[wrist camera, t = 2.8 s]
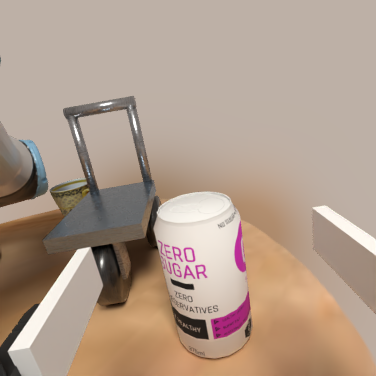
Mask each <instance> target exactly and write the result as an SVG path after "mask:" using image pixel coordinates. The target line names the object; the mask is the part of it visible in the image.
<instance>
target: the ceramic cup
mask: <svg viewBox="0 0 376 376" xmlns="http://www.w3.org/2000/svg"><path fill="white" fill-rule="evenodd" d="M89 192H90V191H89V188H88V185H87V182H86V178H80V179H75V180H71V181H67V182H64V183H61V184H59V185H56V186H55V187H53V188H51V189H50V193H51V195H52V197H53V199H54V200H55V202H56V204H57V205H58V207H59V208H60V210H61V212H62V214H63V215H64V217H65V216H66V215H67V214H68V213H69V212H70V211H71V210H72V209H73V208H74V207H75V206H76V205H77V204H78V203H79V202H80V201H81V200H82V199H83V198H84V197H85V196H86V195H87V194H88V193H89Z"/></svg>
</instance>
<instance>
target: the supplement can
mask: <svg viewBox="0 0 376 376" xmlns="http://www.w3.org/2000/svg"><path fill="white" fill-rule="evenodd" d="M154 233H155V237H156V241H157V245H158V250H159V254H160V258H161V263H162V267H163V271H164V275H165V280H166V284H167V288H168V292H169V297H170V301H171V305H172V310H173V314H174V318H175V322H176V327H177V331H178V334H179V338H180V341H181V343H182V344H183V345H184V346H185V347H186V348H187V350H188V351H190V352H192V353H194V354H196V355H198V356H200V357H206V358H214V359H215V358H220V357H224V356H229V355H231V354H233V353H234V352H236V351H238V350H239V349H241V348H242V347H243V346H244V344H245V343H246V342H247V340H248V339H249V338H250V334H251V330H252V318H251V309H250V300H249V291H248V282H247V274H246V265H245V256H244V247H243V238H242V229H241V221H240V215H239V212H238V210H237V209H236V208H235V206H234V205H233V204H232V202H231V199H230V198H229V197H228V196H227V195H225V194H221V193H218V192H195V193H190V194H185V195H181V196H178V197H175V198H173V199H171V200H169V201H167V202H165V203H164V204H162V205H161V206H160V207H159V209H158V211H157V219H156V222H155V225H154Z"/></svg>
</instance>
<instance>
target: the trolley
mask: <svg viewBox="0 0 376 376" xmlns="http://www.w3.org/2000/svg"><path fill="white" fill-rule="evenodd" d="M123 109H127V114H128V118H129V122H130V126H131V131H132V135H133V139H134V143H135V148H136V152H137V156H138V161H139V165H140V169H141V174H142V178H143V182H141V183H135V184H129V185H124V186H118V187H112V188H106V189H101V190H99V189H98V186H97V183H96V180H95V176H94V172H93V169H92V165H91V162H90V159H89V155H88V152H87V149H86V145H85V142H84V138H83V135H82V132H81V128H80V125H79V121H78V117H84V116H89V115H94V114H101V113H106V112H112V111H118V110H123ZM63 112H64V116H65V117H66V119H67V120H68V122H69V126H70V129H71V133H72V136H73V139H74V142H75V146H76V149H77V152H78V155H79V158H80V162H81V165H82V169H83V172H84V175H85V178H86V182H87V185H88V188H89V191H90V192H89V193H88V194H87V195H86V196H85V197H84V198H83V199H82V200H81V201H80V202H79V203H78V204H77V205H76V206H75V207H74V208H73V209H72V210H71V211H70V212H69V213H68V214H67V215H66V216H65V217H64V218H63V220H62V221H61V222H60V223H59V224H58V225H57V226H56V227H55V228H54V229H53V230H52V231H51V232H50V233H49V234H48V235H47V236H46V237H45V238H44V239H43V240H42V241H43V243H44V246H45V248H46V251H47V253H48V255H49V254H54V253H60V252H66V251H72V250H78V249H82V248H87V247H91V250H92V253H93V256H94V259H95V262H96V265H97V268H98V271H99V274H100V277H101V280H102V283H103V288H102V290H101V292H100V295H99V297H98V300H97V302H98V303H99V304H100V305H102V306H103V305H109V304H115V303H121V302H125V301H126V299H127V298H128V295H129V291H130V281H131V272H130V267H131V263H130V259H129V255H128V251H127V247H126V244H125V241H130V240H136V239H142V238H145V235H146V236H147V239H148V242H149V244H150V246H151V247H153V246H158V245H157V241H156V237H155V233H154V225H155V222H156V219H157V211H158V209H159V207H160V206H161V202H160V199H159V197H158V196H155V192H156V189H155V184H154V181H153V180H152V177H151V173H150V168H149V164H148V160H147V156H146V150H145V146H144V141H143V137H142V132H141V128H140V123H139V119H138V114H137V110H136V102H135V98H134V96H130V97H125V98H120V99H114V100H108V101H102V102H97V103H91V104H86V105H80V106H74V107H69V108H64V109H63Z"/></svg>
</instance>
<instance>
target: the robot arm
mask: <svg viewBox="0 0 376 376" xmlns="http://www.w3.org/2000/svg"><path fill="white" fill-rule="evenodd" d="M0 62H1V58H0ZM47 190H48V181H47V178H46V172H45V168H44V165H43V162H42V159H41V156H40V153H39V151H38V149H37V147H36V145H35V144H34V142H33V141H31V140H17V139H15V138H14V137H12V136H9V135H8V134H7V132H6V130H5V128H4V127H3V125H2V123H1V122H0V207H3V206H7V205H10V204H14V203H18V202H21V201H25V200H29V199H34V198H36V197H38V196H41V195H43V194H45V193H46V192H47ZM312 220H313V249H314V250H315V251H316V252H317V253H318V254H319V255H320V256H321V257H322V258H323V260H324V261H325V262H326V263H327V264H328V265H329V266H330V267H331V268H332V269H333V270H334V271H335V272H336V273H337V274H338V275H339V276H340V277H341V278H342V279H343V280H344V282H345V283H346V284H347V285H348V286H349V287H350V288H351V289H352V290H353V291H354V292H355V293H356V294H357V295H358V296H359V297H360V298H361V299H362V300H363V301H364V302H365V303H366V305H367V306H368V307H370V309H371V310H372V311H373V312H374V313H375V314H376V239H374V238H373V237H372V236H370V235H368V234H367V233H366V232H364V231H363V230H361V229H360V228H358V227H357V226H355V225H354V224H352V223H351V222H349V221H348V220H346V219H345V218H343V217H342V216H340V215H339V214H337V213H336V212H334V211H333V210H331V209H330V208H328V207H327V206H319V207H314V208H312ZM102 288H103V283H102V280H101V277H100V274H99V271H98V268H97V265H96V262H95V259H94V256H93V253H92V250H91V247H87V248H82V249H78V250H77V251H76V252H75V254H74V255H73V257H72V258H71V260H70V261H69V263H68V264H67V266H66V267H65V269H64V270H63V271H62V273H61V274H60V276H59V277H58V279H57V280H56V282H55V283H54V285H53V286H52V287H51V289H50V290H49V292H48V293H47V295H46V296H45V298H44V299H43V301H42V302H41V303H39V304H35V305H34V306H33V307H31V308H30V309H29V310H28V311H27V312H26V313H25V314H24V315H23V316H22V318H21V319H20V321H19V322H18V325H16V326H15V327H14V329H13V330H12V333H10V334H9V336H8V337H7V338H6V340H5V341H4V342H3V344H2V345H1V347H0V376H67V374H68V371H69V369H70V366H71V364H72V361H73V359H74V357H75V354H76V352H77V349H78V347H79V344H80V342H81V339H82V337H83V334H84V332H85V329H86V327H87V324H88V322H89V320H90V317H91V315H92V312H93V310H94V307H95V305H96V302H97V300H98V297H99V295H100V292H101V290H102Z"/></svg>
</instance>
